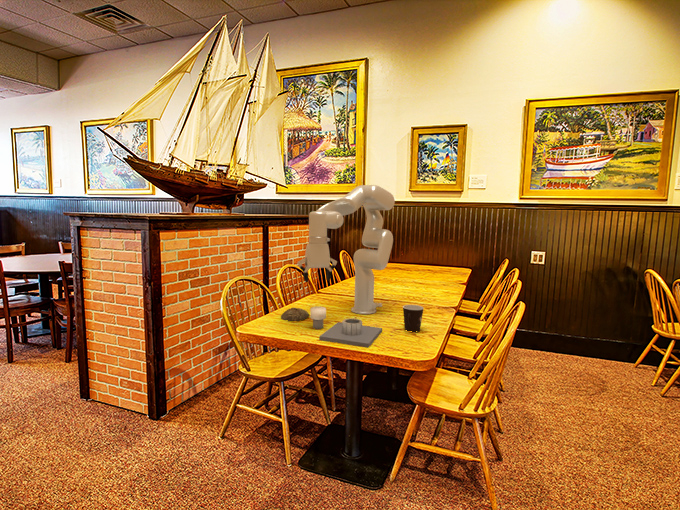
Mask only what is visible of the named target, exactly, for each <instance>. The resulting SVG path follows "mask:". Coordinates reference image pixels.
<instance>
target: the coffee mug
mask: <svg viewBox="0 0 680 510" xmlns="http://www.w3.org/2000/svg"><path fill="white" fill-rule="evenodd" d="M402 308H403V309H402V310H403V324H404V331H405V330H407V331H412V332H411V333H413V332H415V333H417V332H416V331H419V330H420V331H421V326H422V319H423V314H424V307H423V306H421V305H418V304H405V305H402ZM407 331H406V332H407ZM420 331H419V332H420Z"/></svg>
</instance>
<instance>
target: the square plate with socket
mask: <svg viewBox="0 0 680 510" xmlns="http://www.w3.org/2000/svg"><path fill="white" fill-rule="evenodd" d="M382 332H383V327H378V326H369V325H363V321H362V319H359V318H344V319H343V320H342V321H341V322H337V323H335V324H333V326H331V327H330V328H329V329H327V330H326V331H324V332H323V333H322V334H320V336H319V341H324V342H329V341H330V342H331V343H336V342H337V343H338V344H342V345H343V344H344V345H349V346H356V347H363V348H368V347H369V346H370V347H371V346H372V344H373V343H374V342H375V341H376V339H377V338H378V337H379V336H380V335H381V333H382ZM379 334H380V335H379ZM374 340H375V341H374ZM370 347H369V348H370Z"/></svg>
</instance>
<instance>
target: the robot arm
mask: <svg viewBox="0 0 680 510" xmlns="http://www.w3.org/2000/svg"><path fill="white" fill-rule="evenodd" d="M395 203H396V201H395V197H394V195H393V194H392V193H391V192H390V191H388V190H386V189H385V188H384V187H382V186H379V185H376V184H365V185H364V184H361V185H358V186H356V187H355V188H353V189H352V190H351V191H349V192H348V193H347V194H345V195H344V196H342V197H340V198H337V199H336V200H333V201H330V202H328V203H325V204H324V205H322V206H320V207H319V208H318V209H317V210H316V211H311V212H309V214H308V243H307V244H306V247H305V252H304V253H305V254H304V258H302V259H300V260H299V261H297V262H296V264H297V266H298V267H299V269H300V270H301V271H302V272H303V280H304V282H306V283H308V282H309V272H308V271H309V270H310V269H323V268H324V269H325V268H326V269H325V270H326V271H325V272H326V274H325V275H326V276H325V279H326V281H328V282H330V281H331V279H332V272H333V270H334V269H335V268H336V265H337V263H338V261H337V260H335V259H333V258H332V257H331V256H330V255H331V254H330V247H329V243H328V242H331V238H329V237H328V229H333V230H336V229H339V228H341V227H342V226H343V224H344V216H347V215H348V216H349V215H352V214H353V213H355V212H356V211H358V210H359V209H360V208H361V207H362V206H363V207H362V208H363V209H364V211H365V214H366V215H365V216H366V221H365V226H364V229H363V232H362V233H363V234H362V237H361V244H362V245H363V246H364V247H366V248H360V249H357V250H356V251H355V252H354V254H353V265H354V276H355V277H354V306H353V307H351V312H352V313H355V314H359V315H372V314H375V313H377V308H380V307H383V303H382V302H374V298H375V297H374V295H375V294H374V293H375V292H374V291H375V275H374V272H373V270H376V271H377V270H378V271H382V270H384V269H385V268H387V266H388V262H389V259H390V255H391V251H392V249H393V243H394V236H393V233H392V231H390V230H389V229H385V228H383V225H384V219H383V216H382V214H381V212H380V211H390V210H392V209H393V208H394V206H395ZM372 248H375V249H372ZM331 262H332V264H331ZM303 264H304V265H305V266H303Z"/></svg>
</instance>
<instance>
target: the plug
mask: <svg viewBox="0 0 680 510" xmlns="http://www.w3.org/2000/svg"><path fill="white" fill-rule="evenodd" d="M326 318H327V308H326V307H324V306H312V307H310V319H311V320H312V329H314V328H315V329H314V330H322V329H321V328H323V329H324V320H325V319H326Z"/></svg>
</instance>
